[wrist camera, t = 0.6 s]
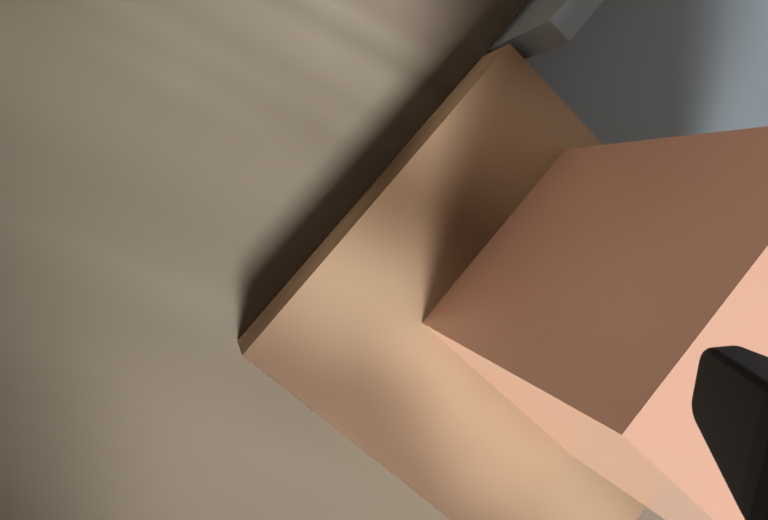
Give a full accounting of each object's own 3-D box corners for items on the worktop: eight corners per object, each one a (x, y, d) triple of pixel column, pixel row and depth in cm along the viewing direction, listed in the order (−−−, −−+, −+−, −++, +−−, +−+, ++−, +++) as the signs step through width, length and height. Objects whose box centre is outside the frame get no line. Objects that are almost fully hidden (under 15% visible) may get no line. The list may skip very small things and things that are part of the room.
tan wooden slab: (538, 579, 25) (566, 611, 23) (237, 340, 21) (242, 355, 19) (733, 323, 26) (776, 333, 24) (482, 56, 23) (509, 43, 21)
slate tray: (738, 316, 26) (832, 338, 23) (488, 49, 23) (549, 20, 19) (916, 85, 28) (1033, 67, 24) (707, -205, 24) (805, -280, 20)
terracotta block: (572, 456, 23) (855, 650, 13) (421, 322, 21) (621, 434, 11) (700, 291, 23) (1056, 361, 14) (565, 148, 22) (868, 114, 12)
